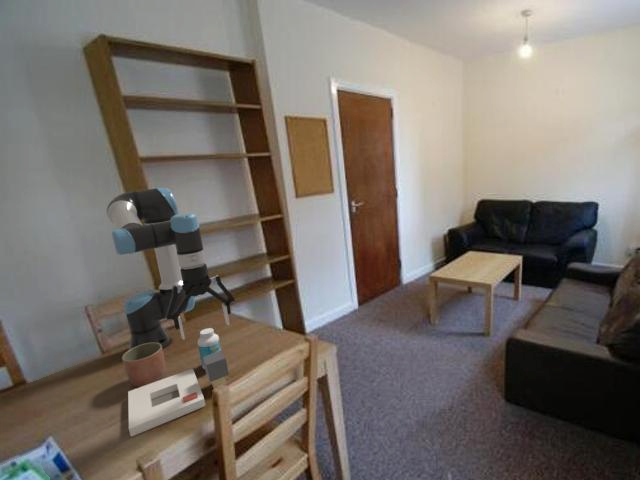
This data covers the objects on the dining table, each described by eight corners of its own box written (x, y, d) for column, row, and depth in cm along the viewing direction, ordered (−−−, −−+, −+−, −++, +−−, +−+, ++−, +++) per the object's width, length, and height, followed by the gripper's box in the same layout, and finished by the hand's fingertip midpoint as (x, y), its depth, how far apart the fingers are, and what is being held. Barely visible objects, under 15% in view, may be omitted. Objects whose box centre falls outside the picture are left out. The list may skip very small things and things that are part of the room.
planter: (156, 365, 129) (150, 339, 126) (174, 374, 121) (168, 346, 119) (122, 384, 119) (115, 356, 117) (140, 395, 112) (132, 365, 109)
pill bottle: (217, 371, 120) (210, 336, 117) (198, 370, 122) (191, 336, 119) (227, 359, 127) (220, 326, 125) (209, 359, 129) (202, 326, 126)
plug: (208, 384, 113) (202, 356, 111) (226, 377, 116) (221, 350, 114) (212, 393, 108) (206, 365, 106) (230, 385, 111) (225, 358, 109)
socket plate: (130, 398, 110) (127, 390, 110) (194, 374, 120) (192, 367, 119) (130, 436, 93) (128, 427, 92) (205, 405, 102) (203, 397, 102)
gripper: (148, 278, 94) (164, 348, 98) (237, 258, 105) (248, 322, 109) (147, 272, 100) (162, 339, 105) (231, 254, 112) (241, 315, 116)
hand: (206, 330), depth 107 cm, fingers open, 13 cm apart
